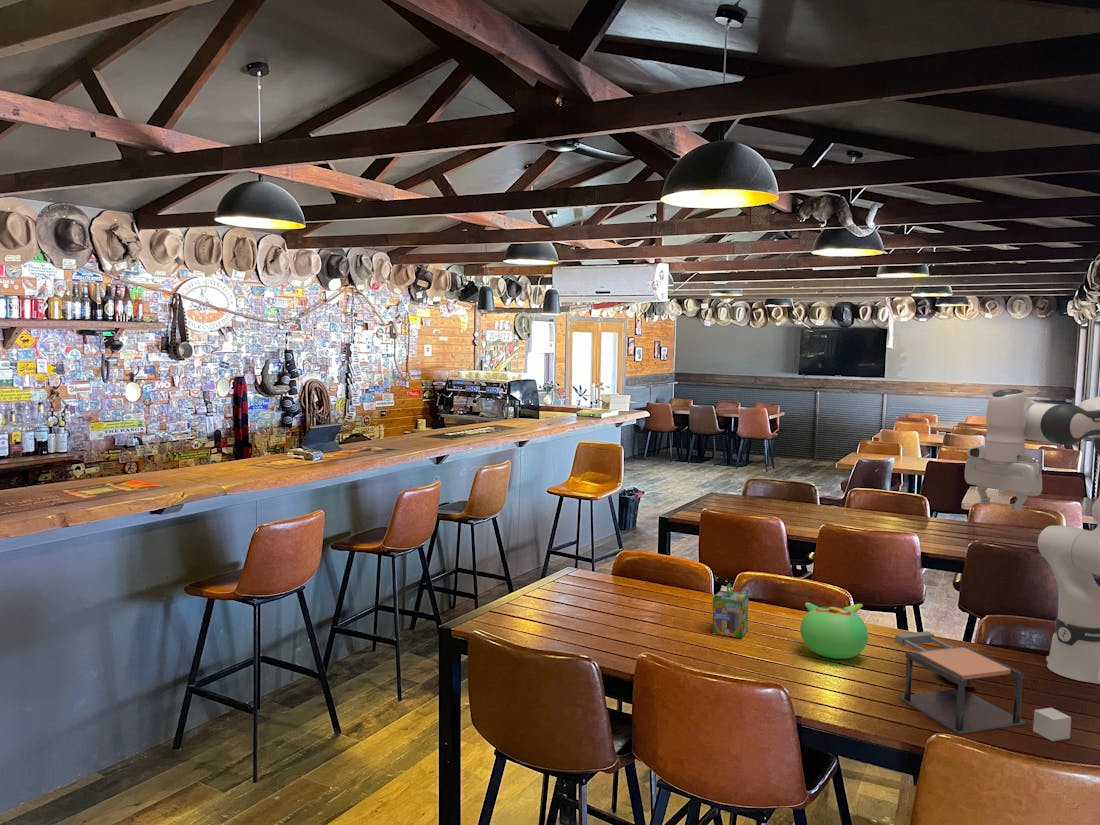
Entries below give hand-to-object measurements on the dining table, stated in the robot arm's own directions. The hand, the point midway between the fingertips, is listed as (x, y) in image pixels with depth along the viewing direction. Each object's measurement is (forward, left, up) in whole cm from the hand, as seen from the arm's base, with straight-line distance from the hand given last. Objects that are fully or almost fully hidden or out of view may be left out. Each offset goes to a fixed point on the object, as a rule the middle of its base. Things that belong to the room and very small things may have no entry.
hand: (1000, 507), depth 203 cm
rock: (+6, -5, -47) cm, 48 cm away
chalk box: (+46, -52, -47) cm, 84 cm away
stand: (+19, +10, -47) cm, 51 cm away
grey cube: (+8, +25, -47) cm, 54 cm away
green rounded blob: (+27, -28, -47) cm, 61 cm away
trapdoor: (+19, +5, -36) cm, 41 cm away
